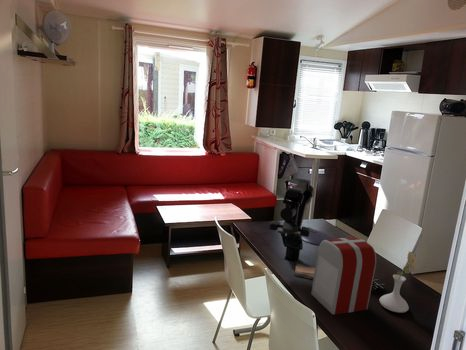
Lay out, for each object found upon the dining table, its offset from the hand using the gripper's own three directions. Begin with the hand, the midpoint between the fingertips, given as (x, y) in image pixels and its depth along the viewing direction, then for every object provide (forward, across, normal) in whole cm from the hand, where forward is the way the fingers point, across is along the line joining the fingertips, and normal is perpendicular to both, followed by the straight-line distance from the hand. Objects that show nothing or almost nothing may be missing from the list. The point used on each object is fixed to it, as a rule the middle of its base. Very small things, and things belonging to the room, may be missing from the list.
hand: (287, 245), depth 178 cm
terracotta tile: (+12, +12, 0) cm, 17 cm away
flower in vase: (+12, +49, -13) cm, 52 cm away
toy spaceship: (+13, +10, +51) cm, 54 cm away
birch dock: (+12, +17, 0) cm, 21 cm away
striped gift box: (+12, +26, -19) cm, 35 cm away
